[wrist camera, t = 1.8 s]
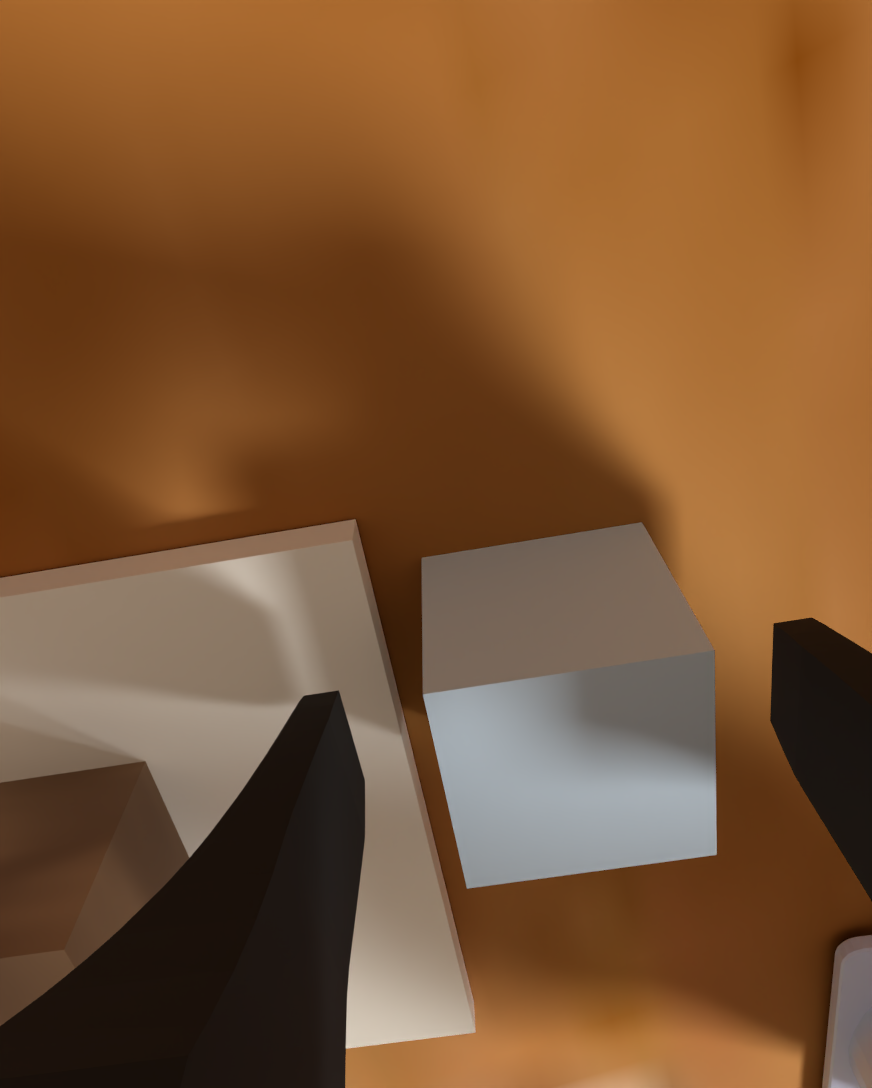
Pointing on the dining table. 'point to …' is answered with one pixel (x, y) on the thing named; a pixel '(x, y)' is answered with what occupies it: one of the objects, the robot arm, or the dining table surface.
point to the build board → (241, 723)
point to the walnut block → (75, 870)
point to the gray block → (569, 706)
